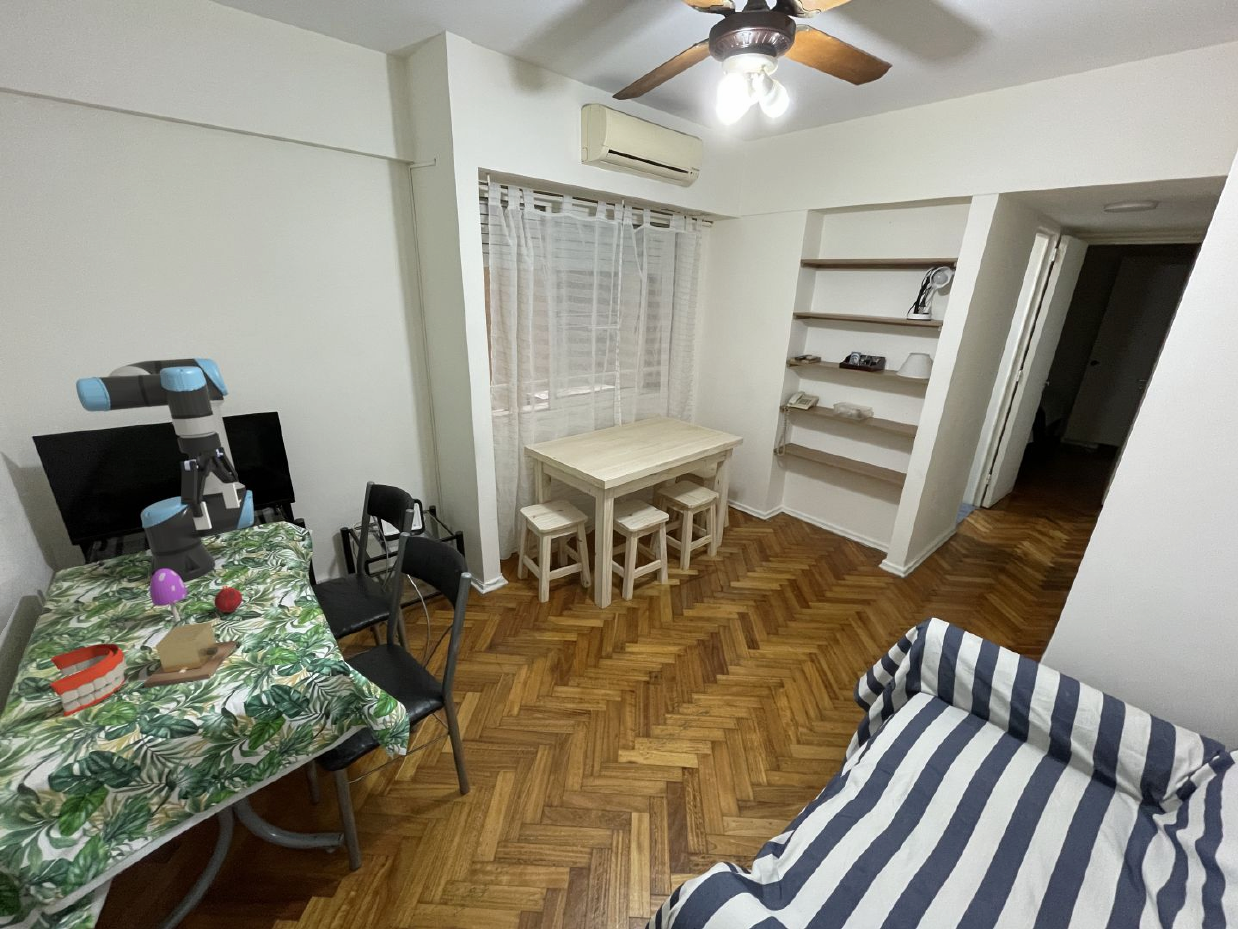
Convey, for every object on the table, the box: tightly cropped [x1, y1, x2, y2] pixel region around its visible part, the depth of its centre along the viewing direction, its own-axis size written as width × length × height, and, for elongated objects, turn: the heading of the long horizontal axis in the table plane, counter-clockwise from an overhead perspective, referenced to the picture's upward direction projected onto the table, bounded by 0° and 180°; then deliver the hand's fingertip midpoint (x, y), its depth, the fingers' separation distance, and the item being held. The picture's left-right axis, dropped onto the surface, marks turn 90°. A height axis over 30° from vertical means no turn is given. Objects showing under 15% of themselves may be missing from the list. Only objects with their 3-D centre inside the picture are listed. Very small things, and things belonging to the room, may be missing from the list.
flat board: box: [143, 640, 237, 689], centre depth 112 cm, size 12×12×6 cm
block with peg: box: [155, 621, 218, 673], centre depth 111 cm, size 10×7×7 cm
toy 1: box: [49, 643, 128, 717], centre depth 104 cm, size 12×10×8 cm
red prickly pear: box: [214, 584, 243, 613], centre depth 131 cm, size 6×6×8 cm
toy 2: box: [149, 569, 188, 623], centre depth 127 cm, size 7×7×15 cm
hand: (219, 517), depth 121 cm, fingers open, 13 cm apart
